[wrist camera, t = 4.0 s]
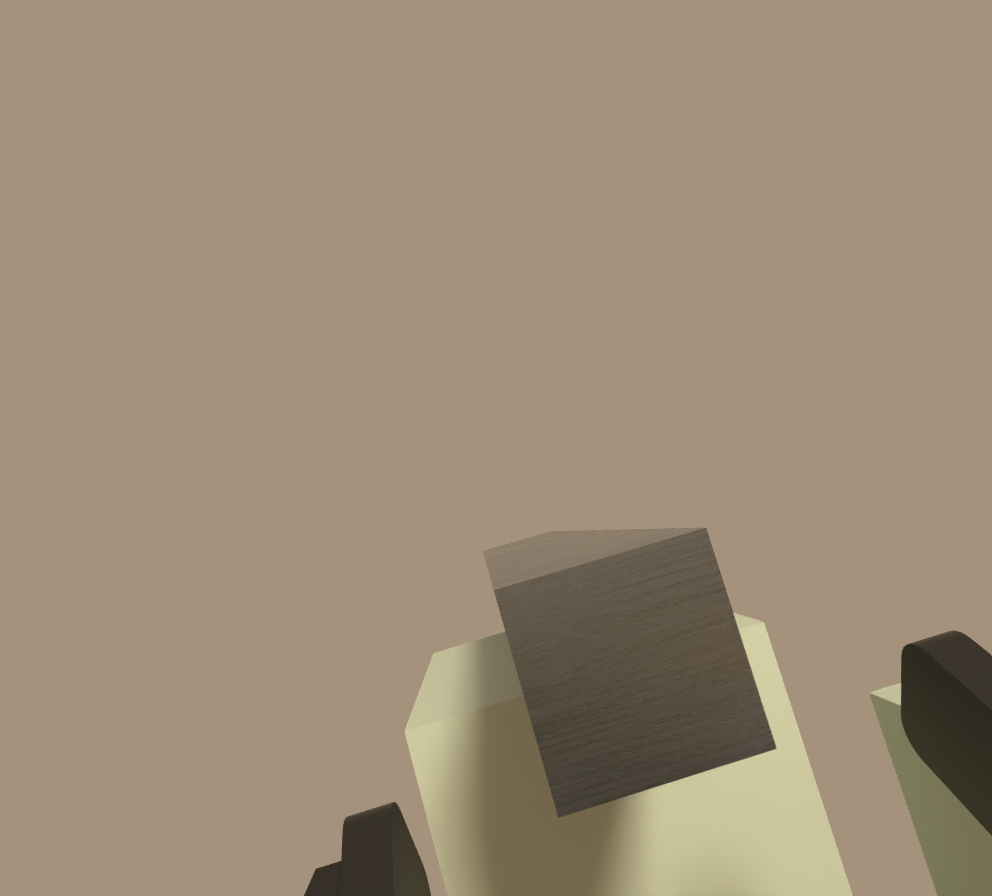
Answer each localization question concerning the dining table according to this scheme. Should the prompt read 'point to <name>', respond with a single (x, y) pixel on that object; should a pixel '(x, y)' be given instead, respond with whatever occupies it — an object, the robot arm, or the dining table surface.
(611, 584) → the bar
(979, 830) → the block
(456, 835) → the stand
